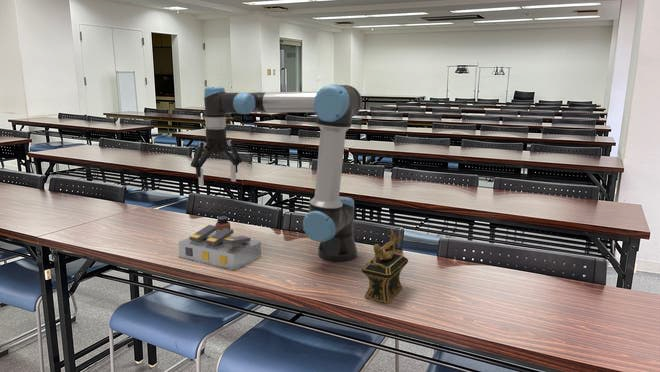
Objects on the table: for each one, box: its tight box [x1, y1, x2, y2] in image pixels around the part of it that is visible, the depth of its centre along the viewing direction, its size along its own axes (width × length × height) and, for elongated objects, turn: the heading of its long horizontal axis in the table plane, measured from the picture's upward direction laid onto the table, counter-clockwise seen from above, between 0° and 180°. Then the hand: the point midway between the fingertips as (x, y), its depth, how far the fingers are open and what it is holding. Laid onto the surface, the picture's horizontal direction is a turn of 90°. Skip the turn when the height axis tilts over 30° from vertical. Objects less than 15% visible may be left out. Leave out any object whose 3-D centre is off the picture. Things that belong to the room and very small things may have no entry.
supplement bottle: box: [214, 216, 231, 233], centre depth 189 cm, size 6×6×11 cm
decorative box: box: [361, 228, 409, 304], centre depth 148 cm, size 20×10×20 cm, turn 151°
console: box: [178, 231, 262, 272], centre depth 176 cm, size 26×16×7 cm, turn 63°
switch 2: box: [206, 228, 234, 246], centre depth 175 cm, size 4×11×2 cm, turn 153°
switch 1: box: [188, 224, 217, 242], centre depth 178 cm, size 4×11×2 cm, turn 153°
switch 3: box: [223, 235, 252, 245], centre depth 171 cm, size 4×11×2 cm, turn 153°
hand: (217, 183), depth 181 cm, fingers open, 13 cm apart
